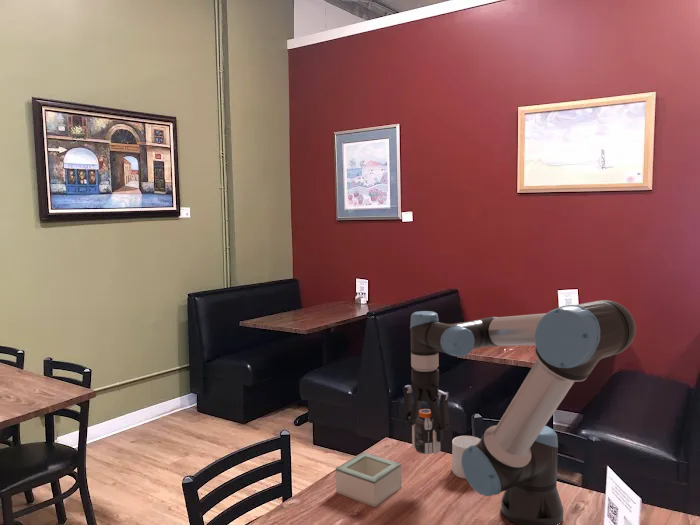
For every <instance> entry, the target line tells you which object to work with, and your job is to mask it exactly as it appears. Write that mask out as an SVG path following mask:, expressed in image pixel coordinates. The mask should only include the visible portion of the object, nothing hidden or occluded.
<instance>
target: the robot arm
mask: <svg viewBox="0 0 700 525" xmlns="http://www.w3.org/2000/svg"><path fill="white" fill-rule="evenodd" d="M409 329H410V364H411V365H410V366H411V370H410V371H411V375H410V376H411V377H410V378H411V385H410V384H407V385H404V386H403V387H402V389H401V390H402V393H403V415H402V416H403V418H402V419H403V421H404V422H407V423H408V424H409V434H410V436H411V441H412V445H411V446H412V447H411V448H412V449H416V443H415V420H416V419H417V418H418V417H419V410H421V409H422V408H421V407H422V403H423V402H424V403H426V405H427V406H428V408H429V409H430V411H431V415H432V418H433V422H434V425H435V429H434V430H433V453H432V454H434V455H436V454H438V453H440V451H441V442H442V441H443V439H444V432H443V431H445V430H447V429H448V428H449V427H450V416H449V415H450V414H449V413H450V411H449V397H450V392H448V391H446V392H445V391H443V390H441V388H440V386H439V383H440V382H439V381H440V369H439V368H438V367H439V366H440V364H439V360H440V358H439V355H440V354H439V352H440V353H444V354H447V355H449V356H453V357H467V356H468V355H469V353H472V351H473V350H476V349H480V348H482V349H483V348H487V347H488V348H489V347H507V346H510V347H513V346H535V348H534V353H535V356H536V358H537V359H536V360H535V362H534V363H533V365H532V367H531V368H530V369H529V372H528V373H527V375H526V376H525V378H524V380H523V382H522V383H521V385H520V387H519V388H518V390H517V392H515V393H516V394H515V395H514V397H513V398H512V399H511V401H510V404H508V407H507V408H506V410H505V411H504V413H503V415H502V417H501V418H500V419H499V422H498V423H497V425H491V426H490V427H488V428H486V430H485V431H484V433H483V434H482V436H481V438H480V439H481V440H480V441H479V443H478V444H476V445H474V446H473V445H472V446H469V447H468V448H467V449H465V450H464V452H463V454H462V460H461V461H462V468H463V472H464V475H465V477H466V479H465V480H466V481H467V482H468V484H469V485H470V487H471V488H472V489H473V490H474V491H475V492H476V493H478V494H479V495H480V496H481V495H482V496H484V497H491V496H496V495H500V494H501V493H503V495H502V497H501V502H500V509H501V510H500V511H501V513H502V514H503V516H504V517H505V519H507V520H508V521H510V522H511V523H513V524H515V525H557V524H559V523H560V522H561V521H562V519H563V520H564V506H563V503H562V501H561V500H562V499H561V497H560V493H559V491H558V487H557V486H558V485H557V484H558V481H557V480H558V448H559V444H558V443H559V442H558V434H557V433H556V431H555V430H554V429H553V428H552V427H550V426H547V424H548V422H549V421H550V419H551V418H552V416H553V415H554V413H555V412H556V410H557V409H558V407H559V406H560V404H561V403H562V401H563V400H564V399H565V397H566V396H567V394H568V392H569V390H570V389H571V388H572V386H573V385H574V383H576V382H577V383H579V382H584V381H585V380H587V378H588V377H589V376H590V374H591V373H592V371H593V370H594V368H595V367H596V366H597V364H598V363H599V362H600V361H601V360H602V359H605V358H608V357H612V356H615V355H619V354H621V353H623V352H624V351H625V350H627V349H628V348H629V347H630V346H631V345H632V343H633V341H634V340H635V336H636V331H637V325H636V321H635V319H634V316H633V315H632V313H631V312H630V311H629V310H628V308H626V307H625V306H624V305H622V304H621V303H619V302H617V301H614V300H606V299H605V300H603V299H602V300H601V299H600V300H595V301H590V302H584V303H579V304H567V305H562V306H560V307H557V308H555V309H552V310H550V311H548V312H546V313H533V314H521V315H511V316H499V317H498V316H489V317H484V318H479V319H474V320H468V321H464V322H463V321H462V322H461V321H460V322H455V323H444V322H440V321H439V315H438V313H437V312H435V311H432V310H431V311H430V310H429V311H428V310H422V311H421V310H420V311H414V312H412V314H411V315H410V326H409ZM413 394H414V398H413ZM437 396H438V398H437ZM438 400H439V402H438ZM438 403H439V404H438ZM562 522H563V521H562ZM562 522H561V523H562ZM561 523H560V524H561ZM560 524H559V525H560Z"/></svg>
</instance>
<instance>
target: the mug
mask: <svg viewBox="0 0 700 525" xmlns="http://www.w3.org/2000/svg"><path fill="white" fill-rule="evenodd" d="M480 440H481V438H479V437H477V436H474V435H473V436H472V435H460V436H459V435H458V436H456V437H454V438H453V439H452V441H451V442H452V445H451V446H452V447H451V448H452V449H451V450H452V451H451V453H452V456H451V458H452V459H451V460H452V462H451V471H452V473H453V475H454V476H456V477H458V478H461V479H465V480H467V479H466V477H465V475H464V472H463V468H462V461H461V460H462V454H463V452H464V450H465V449H467V448H468V447H469V446H472V445H473V446H474V445H476V444H478V443H479V441H480Z"/></svg>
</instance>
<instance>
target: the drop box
mask: <svg viewBox="0 0 700 525" xmlns="http://www.w3.org/2000/svg"><path fill="white" fill-rule="evenodd" d="M401 488H402V463H400V462H398V461H394V460H390V459H388V458H385V457H382V456H379V455H375V454H373V453H369V452H366V451H362V452H361V453H359V454H357V455H356V456H354V457H353V458H351V459H349V460H348V461H346V462H344V463H342V464H341V465H339V466H338V467H336V468H335V492H336V494H339V495H342V496H344V497H346V498H349V499H351V500H352V499H353V500H355V501H357V502H360V503H361V504H362V503H363V504H364V505H368V506H369V507H373V508H376V507H377V506H379V505H380V504H381V503H383V502H384V501H385V500H387V499H389V497H391V496H392V495H394V493H396V492H398V491H399V490H400V489H401Z"/></svg>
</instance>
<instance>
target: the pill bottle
mask: <svg viewBox="0 0 700 525" xmlns="http://www.w3.org/2000/svg"><path fill="white" fill-rule="evenodd" d="M434 429H435V425H434V422H433V418H432V415H431V411H430V408H420V410H419V415H418V418H417V419H416V420H415V443H416V448H415V451H416V452H417V453H419V454H422V455H431V454H434V453H433V430H434Z"/></svg>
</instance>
